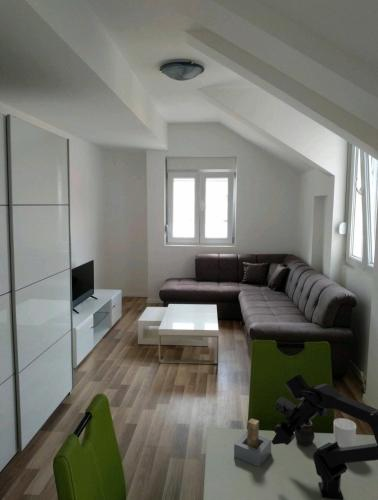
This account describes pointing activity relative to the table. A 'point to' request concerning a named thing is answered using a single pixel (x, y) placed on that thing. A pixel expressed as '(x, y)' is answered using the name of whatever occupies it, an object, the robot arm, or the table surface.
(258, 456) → the grey square socket holder
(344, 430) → the white cup
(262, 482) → the table surface
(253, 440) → the tall wooden pillar block
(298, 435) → the mate gourd
